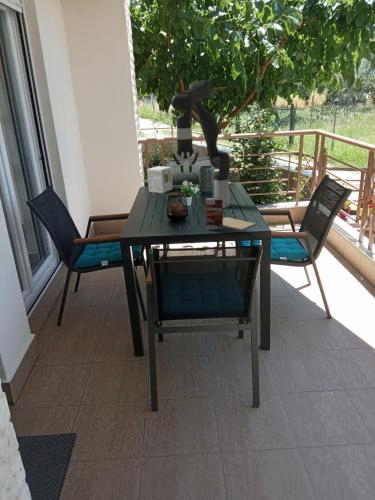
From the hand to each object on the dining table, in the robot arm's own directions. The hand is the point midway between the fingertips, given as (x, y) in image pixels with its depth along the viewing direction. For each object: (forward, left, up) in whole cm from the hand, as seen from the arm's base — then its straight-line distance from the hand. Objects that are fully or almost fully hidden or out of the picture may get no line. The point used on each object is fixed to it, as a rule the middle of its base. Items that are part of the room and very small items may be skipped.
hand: (186, 172), depth 198 cm
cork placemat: (-19, +15, -29) cm, 38 cm away
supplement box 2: (-7, +12, -29) cm, 32 cm away
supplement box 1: (-50, -82, -29) cm, 100 cm away
